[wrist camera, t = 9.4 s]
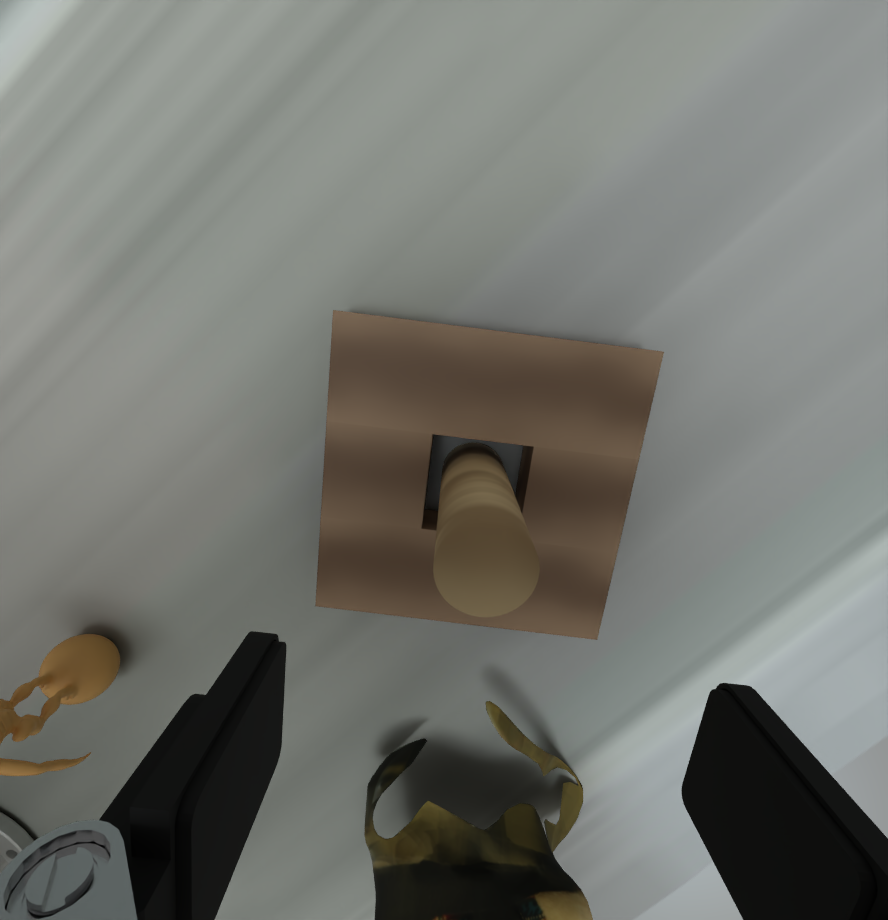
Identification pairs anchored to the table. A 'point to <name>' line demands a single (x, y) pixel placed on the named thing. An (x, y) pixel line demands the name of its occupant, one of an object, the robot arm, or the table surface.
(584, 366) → the socket block
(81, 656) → the figurine
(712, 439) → the table surface
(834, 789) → the robot arm
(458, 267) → the table surface
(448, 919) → the red green tall figure
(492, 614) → the peg
